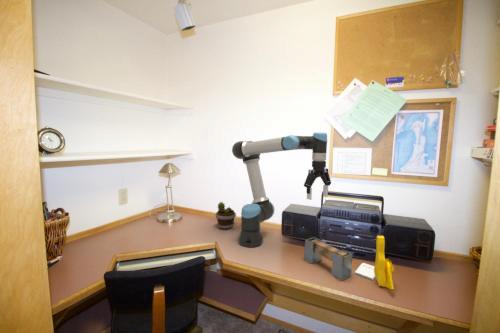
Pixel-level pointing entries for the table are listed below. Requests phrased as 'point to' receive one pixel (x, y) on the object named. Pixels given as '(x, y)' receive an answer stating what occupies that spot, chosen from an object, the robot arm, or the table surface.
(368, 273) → the external hard drive
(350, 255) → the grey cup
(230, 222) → the flowerpot
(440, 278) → the table surface
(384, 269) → the figure statuette
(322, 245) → the rail
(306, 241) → the bracket left
